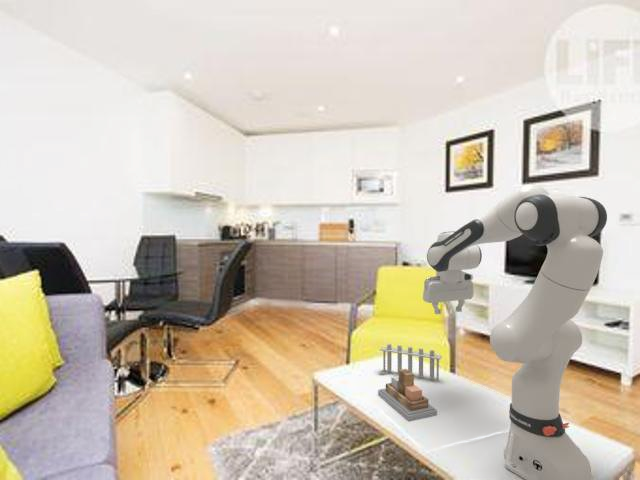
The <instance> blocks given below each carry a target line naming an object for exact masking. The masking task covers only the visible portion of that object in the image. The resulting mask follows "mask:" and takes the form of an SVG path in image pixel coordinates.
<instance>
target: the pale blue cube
mask: <svg viewBox="0 0 640 480" xmlns="http://www.w3.org/2000/svg"><path fill="white" fill-rule="evenodd" d="M390 383H391V387H393V388H394V389H395V390H396V391H398V392H399V375H394V376H391V377H390Z"/></svg>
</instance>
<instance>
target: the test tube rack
mask: <svg viewBox="0 0 640 480" xmlns="http://www.w3.org/2000/svg"><path fill="white" fill-rule="evenodd" d="M379 351H382V352H383V356H382V357H383V363H382V364H383V369H382V370H381V371H380V372H379V375H380V376H389V375H395V374H397V375H399V370H401V369H403V368H402V366H403V361H402V358H403V355H406V356H407V370H409V371H410V372H412V373H413V356H415V357H418V378H419V379H421V380H422V379H424V358H427V359H428V358H429V380H430V381H432V382H433V381H434V380H435V381H436V382H440V378H439V377H440V375H439V374H440V372H439V371H440V368H439V367H440V366H439V364H440V363H439V362H440V360H441V359H442V358H443V354H436V353H435V350H434V349H429V352H424V349H423V347H419V348H418V351H415V350H413V347H412V346H408V347H407V349H403V347H402V344H398V345H397V348H395V347H393V346H392V343H387V345H386V346H382V347H380V348H379ZM392 353H396V354H397V371H393V370H392ZM386 354H387V357H386ZM386 358H387V359H386ZM435 360H436V379H435ZM386 361H387V362H386ZM386 363H387V366H386ZM386 368H387V369H386Z"/></svg>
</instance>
